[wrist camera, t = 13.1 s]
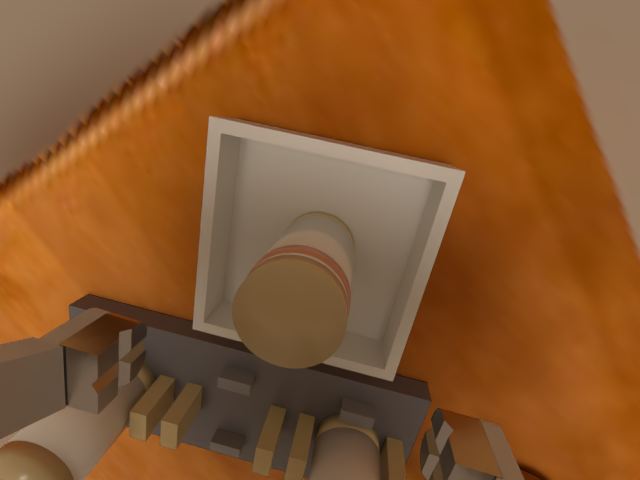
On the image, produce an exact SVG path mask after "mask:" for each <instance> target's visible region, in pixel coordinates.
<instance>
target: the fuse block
mask: <svg viewBox="0 0 640 480" xmlns="http://www.w3.org/2000/svg"><path fill="white" fill-rule="evenodd" d="M89 308H99V309H102V310H105V311H108V312H113V313H116V314H119V315H122V316H125V317H128V318H131V319H135V320H138V321H141V322H144V323H145V324H146V325H147V336H146V337H145V338H144V339H143V340H142V342H143V344H144V346H145V348H146V357H145V361H144V362H145V363H146V364H147V365H148V366H149V368H150V369H151V371H152V372H153V374H154V376H155V380H156V381H155V382H154V383H153V384H152V386H151V387H150V388H149V389H148V390H147V392H146V393H145V394H144V395H143V396H142V397H141V399H140V400H139V401H138V402H137V403H136V405H135V406H134V407H133V408H132V409H131V410H130V423H129V425H128V426H127V427H130V437H132V438H136V439H139V440H143V441H146V440H147V439H148V437H149V436H150V434H151V433H152V434H155V435H159V436H160V446H163V447H167V448H170V449H174V450H176V449H177V448H178V446H179V444H180V443H181V442H183V443H187V444H190V445H194V446H197V447H201V448H204V449H207V450H210V451H214V452H217V453H220V454H224V455H227V456H231V457H234V458H238V459H242V460H246V461H249V462H253V467H252V472H253V473H257V474H260V475H264V476H267V477H268V476H269V473H270V469H271V468H274V469H277V470H281V471H284V472H286V473H285V477H284V480H302V478H303V477H305V478H308V479H309V473H310V467H311V461H312V455H313V449H314V443H315V437H316V432H317V428H318V426H319V424H320V423H321V422H322V421H323V420H324V419H326V418H327V417H329V416H332V415H335V414H339V418H338V420H339V421H342V422H346V423H350V424H353V425H357V426H361V427H364V428H368V429H372V427H374V428H375V429H376V431H377V433H378V437H379V453H380V480H407V477H406V467H405V464H406V462H407V459H408V457H409V455H410V452H411V450H412V447H413V445H414V442H415V440H416V437H417V435H418V433H419V430H420V428H421V425H422V423H423V420H424V418H425V415H426V413H427V411H428V408H429V406H430V403H431V398H430V394H429V389H428V385H427V383H426V382H422V381H418V380H414V379H410V378H407V377H403V376H399V375H395V377H394V380H393V382H392V381H389V380H385V379H381V378H377V377H373V376H370V375H366V374H362V373H358V372H354V371H351V370H347V369H343V368H339V367H335V366H331V365H328V364H324V363H320V364H317V365H315V366H311V367H307V368H285V367H280V366H276V365H273V364H271V363H268V362H266V361H264V360H263V359H261V358H259V357H258V356H256V355H255V354H254V353H252V352H251V351H250V350H249V349H248V348H247V347H246V346H245V344H244V343H243V342H240V341H236V340H233V339H229V338H225V337H221V336H217V335H213V334H210V333H206V332H202V331H198V330H194V329H192V327H193V322H192V321H188V320H184V319H181V318H177V317H173V316H169V315H165V314H162V313H158V312H154V311H150V310H146V309H142V308H139V307H135V306H131V305H127V304H123V303H119V302H116V301H112V300H108V299H104V298H100V297H96V296H93V295H89V294H87V295H86V296H84V297H82V298H80V299H79V300H77V301H75V302H74V303H72V304H70V305H69V316H70V320H71V319H72V318H74V317H76V316H78V315H79V314H81V313H83V312H84V311H86V310H88V309H89Z"/></svg>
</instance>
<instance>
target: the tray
mask: <svg viewBox="0 0 640 480" xmlns="http://www.w3.org/2000/svg"><path fill="white" fill-rule="evenodd" d="M465 173H466V172H465V171H463V170H461V169H459V168H457V167H454V166H452V165H450V164H446V163H441V162H437V161H432V160H427V159H423V158H418V157H413V156H409V155H404V154H400V153H395V152H390V151H386V150H381V149H376V148H372V147H367V146H363V145H358V144H353V143H349V142H344V141H339V140H335V139H330V138H326V137H321V136H316V135H312V134H307V133H302V132H298V131H293V130H289V129H284V128H279V127H275V126H270V125H265V124H261V123H256V122H252V121H247V120H242V119H238V118H229V117H216V116H209V124H208V137H207V150H206V162H205V175H204V188H203V201H202V213H201V226H200V239H199V251H198V264H197V277H196V289H195V302H194V315H193V327H192V329H194V330H198V331H202V332H206V333H210V334H213V335H217V336H221V337H225V338H229V339H233V340H236V341H240V342H242V340H241V339H240V338H239V336H238V334H237V332H236V329H235V327H234V323H233V319H232V304H233V299H234V296H235V294H236V292H237V290H238V288H239V287H240V285H241V284H242V283H243V282H244V280H245V279H246V278H247V276H248V274H249V272H250V271H251V270H252V268H253V267H254V266H255V265H256V263H257V262H258V261H259V260H260V259H261V258H262V257H263V256H264V255H265V254H266V253H267V252H268V251H269V249H270V248H271V247H272V246H273V245H274V243H275V242H276V241H277V240H278V238H279V237H280V236H281V235H282V233H283V232H284V231H285V230H286V229H287V227H288V226H289V225H290V224H291V222H292V221H293V220H294V219H296V218H297V217H299V216H301V215H302V214H305V213H308V212H315V211H320V212H326V213H330V214H332V215H334V216H336V217H338V218H339V219H341V220H342V221H343V222H344V223H345V224H346V225H347V226H348V228H349V229H350V231H351V233H352V235H353V238H354V243H355V252H354V261H353V271H352V280H351V302H350V311H349V316H348V319H347V328H346V333H345V337H344V339H343V342H342V344H341V345H340V347H339V348H338V350H337V351H336V352H335V353H334V354H333V355H332V356H331V357H330V358H328V359H327V360H325V361H324V362H322V363H324V364H328V365H331V366H335V367H339V368H343V369H347V370H351V371H354V372H358V373H362V374H366V375H370V376H373V377H377V378H381V379H385V380H389V381H392V382H393V380H394V377H395V374H396V371H397V368H398V365H399V362H400V360H401V357H402V354H403V351H404V348H405V345H406V342H407V339H408V337H409V334H410V331H411V328H412V325H413V322H414V319H415V316H416V314H417V311H418V308H419V305H420V302H421V299H422V296H423V293H424V291H425V288H426V285H427V282H428V279H429V276H430V273H431V270H432V268H433V265H434V262H435V259H436V256H437V253H438V250H439V247H440V245H441V242H442V239H443V236H444V233H445V230H446V227H447V224H448V222H449V219H450V216H451V213H452V210H453V207H454V204H455V201H456V199H457V196H458V193H459V190H460V187H461V184H462V181H463V178H464V176H465Z"/></svg>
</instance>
